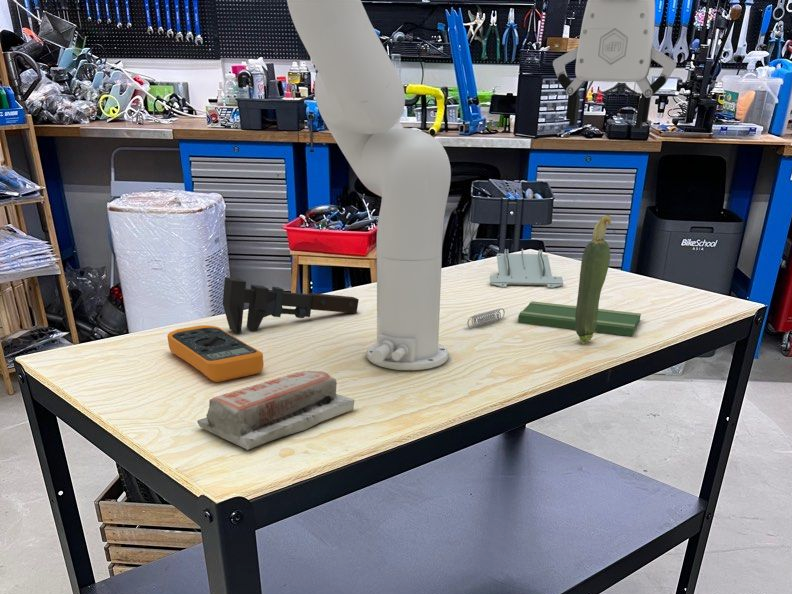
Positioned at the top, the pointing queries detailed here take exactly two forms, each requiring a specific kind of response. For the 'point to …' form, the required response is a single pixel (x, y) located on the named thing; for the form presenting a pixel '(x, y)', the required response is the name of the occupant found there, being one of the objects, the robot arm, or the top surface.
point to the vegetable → (592, 281)
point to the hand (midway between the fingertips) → (605, 126)
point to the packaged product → (275, 408)
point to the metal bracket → (524, 270)
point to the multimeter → (215, 352)
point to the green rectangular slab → (566, 318)
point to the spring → (486, 318)
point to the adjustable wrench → (276, 303)
